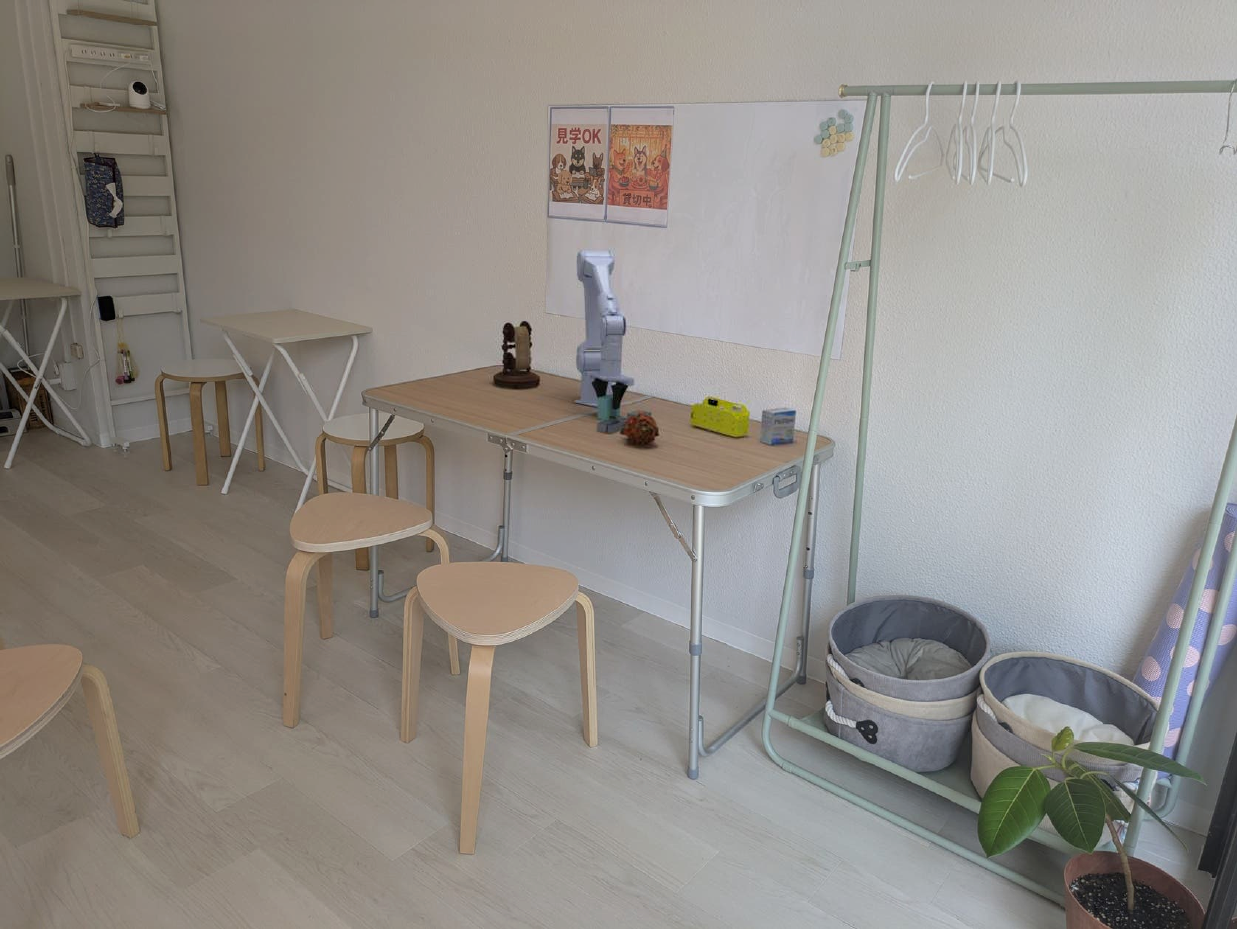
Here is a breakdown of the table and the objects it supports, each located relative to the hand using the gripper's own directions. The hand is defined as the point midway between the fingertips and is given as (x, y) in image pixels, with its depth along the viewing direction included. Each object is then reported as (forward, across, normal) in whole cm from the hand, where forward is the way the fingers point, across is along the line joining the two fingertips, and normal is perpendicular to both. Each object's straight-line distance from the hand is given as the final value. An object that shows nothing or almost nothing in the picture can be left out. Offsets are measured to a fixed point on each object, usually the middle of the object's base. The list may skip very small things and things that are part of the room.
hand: (609, 407), depth 256 cm
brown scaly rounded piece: (+3, +20, -16) cm, 26 cm away
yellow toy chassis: (+3, +30, +9) cm, 32 cm away
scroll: (+3, -46, +14) cm, 48 cm away
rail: (+3, +8, -4) cm, 9 cm away
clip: (+3, 0, 0) cm, 3 cm away
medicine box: (+3, +46, +10) cm, 48 cm away
